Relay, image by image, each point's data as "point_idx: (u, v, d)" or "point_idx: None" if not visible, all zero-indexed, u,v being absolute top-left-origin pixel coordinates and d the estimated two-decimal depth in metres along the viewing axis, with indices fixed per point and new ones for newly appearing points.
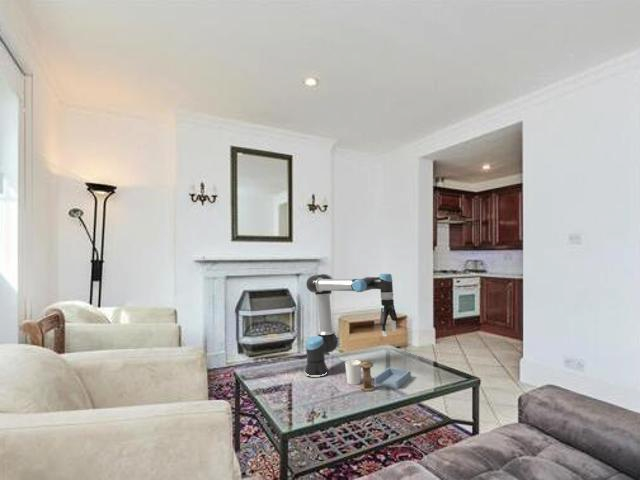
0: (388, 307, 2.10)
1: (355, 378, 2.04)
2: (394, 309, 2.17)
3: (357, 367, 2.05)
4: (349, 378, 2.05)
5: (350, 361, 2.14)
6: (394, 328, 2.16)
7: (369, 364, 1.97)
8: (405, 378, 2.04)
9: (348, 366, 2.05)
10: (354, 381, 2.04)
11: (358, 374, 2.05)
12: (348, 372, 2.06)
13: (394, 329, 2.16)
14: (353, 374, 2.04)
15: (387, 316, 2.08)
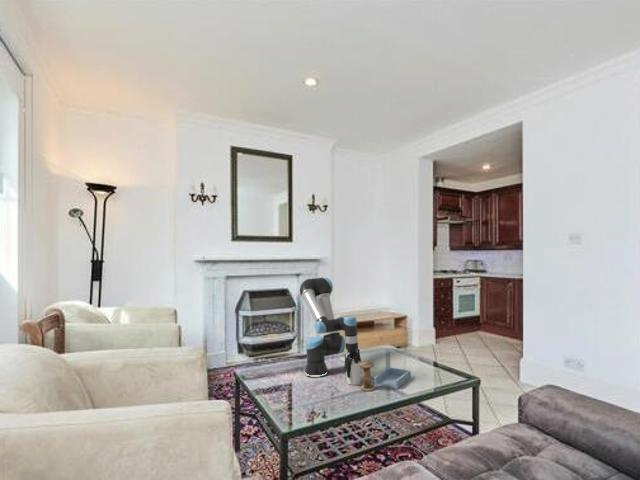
0: (352, 351, 2.08)
1: (355, 378, 2.04)
2: (359, 353, 2.14)
3: (357, 367, 2.05)
4: None
5: None
6: None
7: (369, 364, 1.97)
8: (405, 378, 2.04)
9: None
10: (354, 381, 2.04)
11: (358, 374, 2.05)
12: None
13: None
14: (353, 374, 2.04)
15: (351, 361, 2.06)
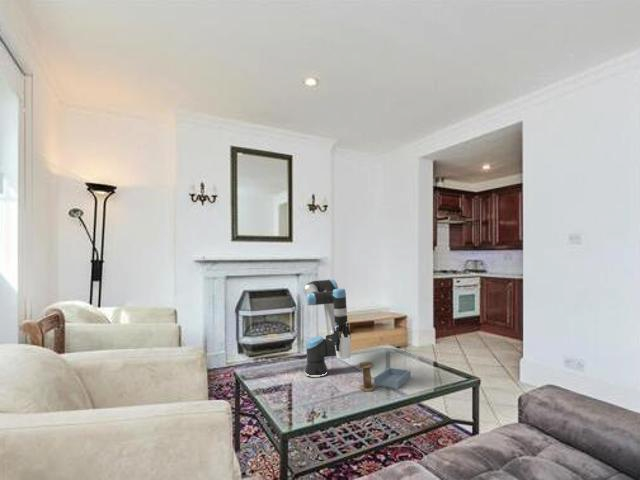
0: (341, 324, 2.00)
1: (344, 352, 1.97)
2: (348, 327, 2.06)
3: (347, 340, 1.97)
4: None
5: None
6: None
7: (369, 364, 1.97)
8: (405, 378, 2.04)
9: None
10: (343, 355, 1.97)
11: (348, 348, 1.98)
12: None
13: None
14: (343, 347, 1.97)
15: None
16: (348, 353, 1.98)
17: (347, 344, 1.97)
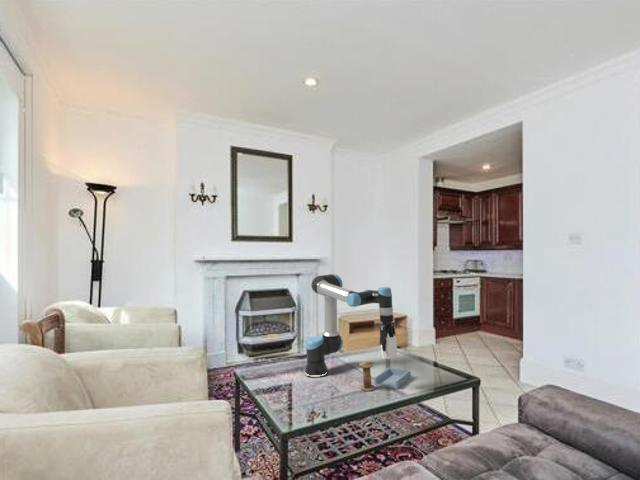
0: (387, 323, 1.95)
1: (391, 352, 1.92)
2: None
3: (393, 340, 1.92)
4: None
5: None
6: None
7: (369, 364, 1.97)
8: (405, 378, 2.04)
9: None
10: (390, 355, 1.92)
11: (394, 348, 1.93)
12: None
13: None
14: (389, 347, 1.92)
15: None
16: (394, 353, 1.93)
17: (394, 344, 1.93)
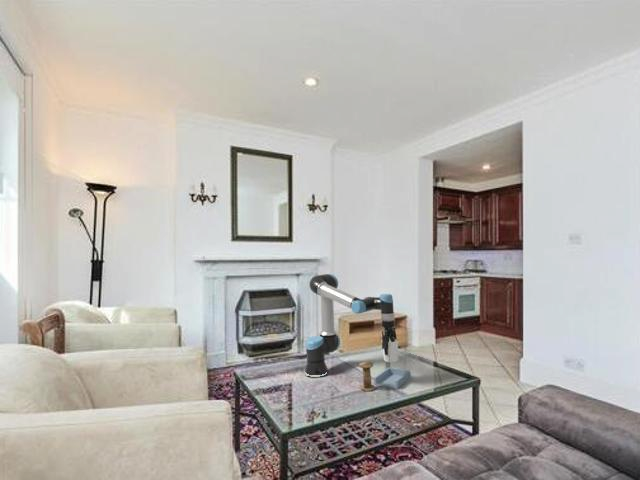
0: (389, 328, 2.05)
1: (393, 355, 2.02)
2: None
3: (395, 344, 2.03)
4: None
5: None
6: None
7: (369, 364, 1.97)
8: (405, 378, 2.04)
9: None
10: (392, 358, 2.02)
11: (396, 351, 2.03)
12: None
13: None
14: (391, 351, 2.02)
15: None
16: (396, 357, 2.03)
17: (395, 348, 2.03)
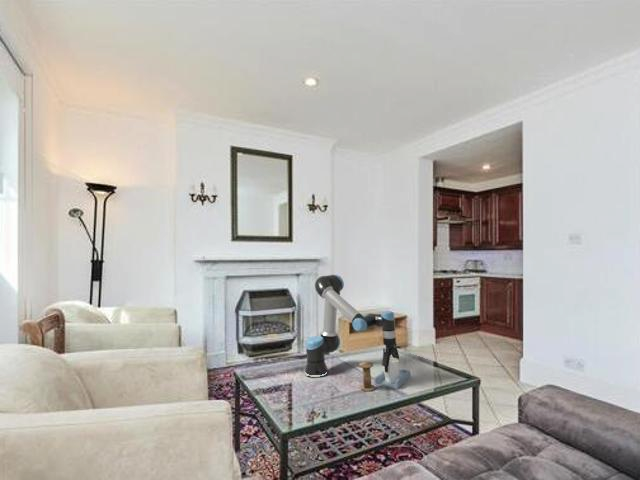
0: (390, 346, 2.05)
1: (394, 376, 2.01)
2: (396, 348, 2.11)
3: (396, 365, 2.02)
4: None
5: None
6: None
7: (369, 364, 1.97)
8: (405, 378, 2.04)
9: None
10: (393, 379, 2.02)
11: (397, 372, 2.02)
12: None
13: None
14: (392, 372, 2.01)
15: (389, 356, 2.03)
16: (397, 377, 2.02)
17: (396, 368, 2.02)
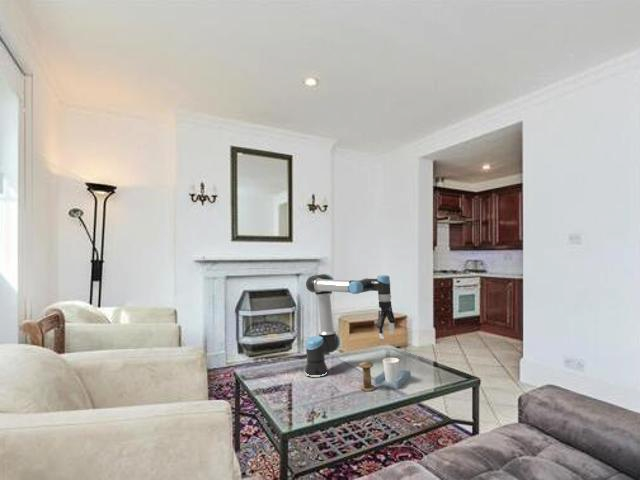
0: (386, 309, 2.07)
1: (394, 376, 2.02)
2: (392, 311, 2.14)
3: (396, 365, 2.02)
4: (388, 376, 2.03)
5: (387, 359, 2.11)
6: (392, 330, 2.13)
7: (369, 364, 1.97)
8: (405, 378, 2.04)
9: (387, 364, 2.03)
10: (393, 379, 2.02)
11: (397, 372, 2.02)
12: (387, 370, 2.03)
13: (392, 331, 2.13)
14: (392, 372, 2.02)
15: (384, 318, 2.05)
16: (397, 377, 2.02)
17: (396, 368, 2.02)
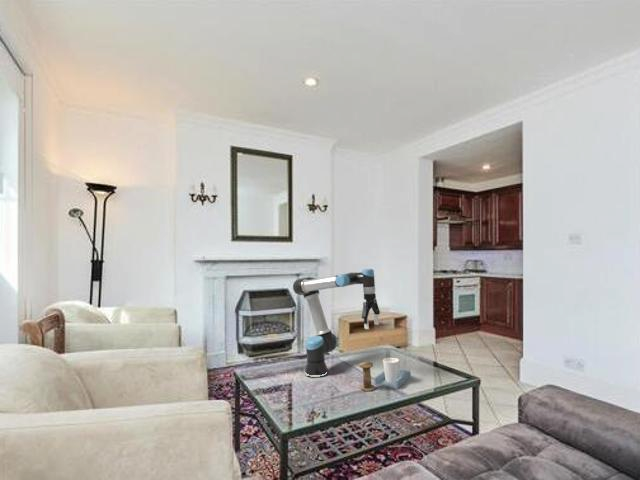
0: (370, 301, 2.18)
1: (394, 376, 2.02)
2: (376, 303, 2.25)
3: (396, 365, 2.02)
4: (388, 376, 2.03)
5: (387, 359, 2.11)
6: (376, 321, 2.24)
7: (369, 364, 1.97)
8: (405, 378, 2.04)
9: (387, 364, 2.03)
10: (393, 379, 2.02)
11: (397, 372, 2.02)
12: (387, 370, 2.03)
13: (376, 322, 2.24)
14: (392, 372, 2.01)
15: (369, 310, 2.16)
16: (397, 377, 2.02)
17: (396, 368, 2.02)
